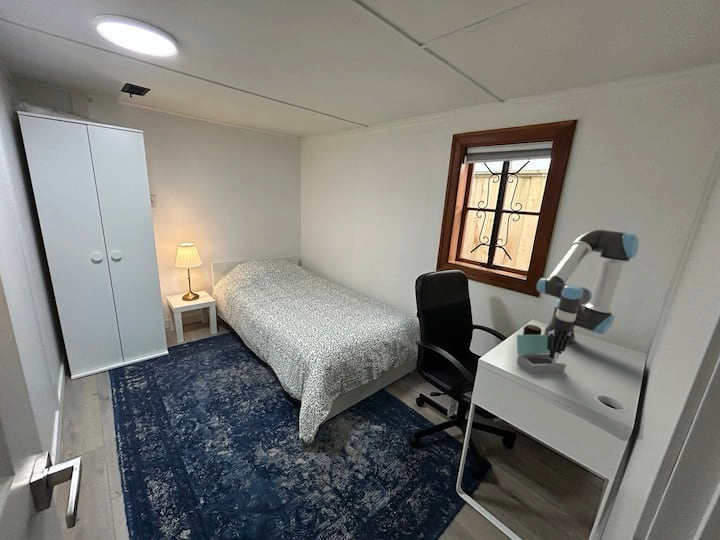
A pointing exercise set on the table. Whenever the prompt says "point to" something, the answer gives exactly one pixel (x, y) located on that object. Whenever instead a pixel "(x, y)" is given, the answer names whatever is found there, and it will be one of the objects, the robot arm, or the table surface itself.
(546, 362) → the cylinder
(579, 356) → the table surface
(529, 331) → the coffee cup
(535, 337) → the cover
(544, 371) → the grey flat bent block
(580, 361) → the table surface
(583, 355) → the table surface
